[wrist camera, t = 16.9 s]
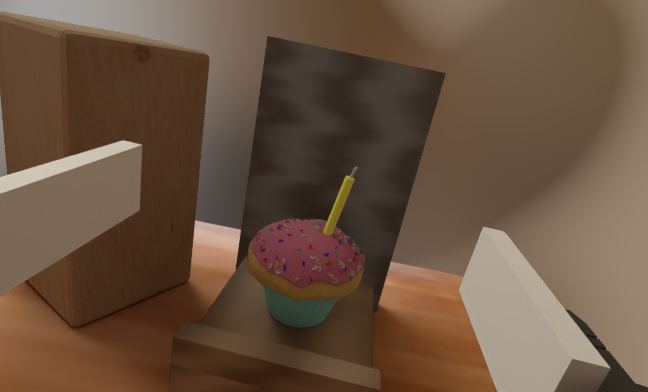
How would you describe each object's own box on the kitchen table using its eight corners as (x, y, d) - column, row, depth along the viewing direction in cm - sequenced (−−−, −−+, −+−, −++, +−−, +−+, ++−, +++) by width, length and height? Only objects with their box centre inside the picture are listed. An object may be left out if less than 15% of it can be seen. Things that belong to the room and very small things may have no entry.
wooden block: (191, 281, 35) (212, 53, 28) (72, 332, 27) (63, 29, 20) (130, 238, 40) (135, 34, 33) (13, 270, 32) (-11, 9, 25)
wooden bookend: (152, 398, 23) (175, 7, 16) (239, 269, 38) (272, 37, 31) (376, 458, 22) (508, 76, 15) (376, 302, 38) (442, 73, 30)
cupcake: (352, 290, 33) (386, 159, 29) (347, 361, 25) (393, 194, 21) (256, 268, 34) (277, 135, 30) (222, 331, 25) (244, 160, 22)
